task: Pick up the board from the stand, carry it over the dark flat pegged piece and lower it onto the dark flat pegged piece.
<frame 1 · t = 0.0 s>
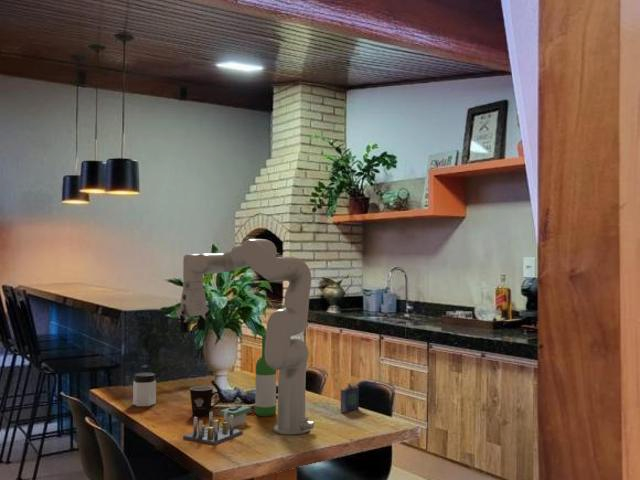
hand: (192, 331, 245), 31 cm above the table, tool pointing down, fingers open, 9 cm apart
kendama: (282, 398, 272), on the table
board: (236, 413, 229), point 4 cm above the table, touching stand
coffee mug: (204, 415, 241), on the table
dark flat pegged piece: (213, 436, 214), on the table
wine bottle: (265, 414, 243), on the table
stand: (235, 424, 229), on the table
jar: (144, 404, 258), on the table
flask: (349, 411, 249), on the table
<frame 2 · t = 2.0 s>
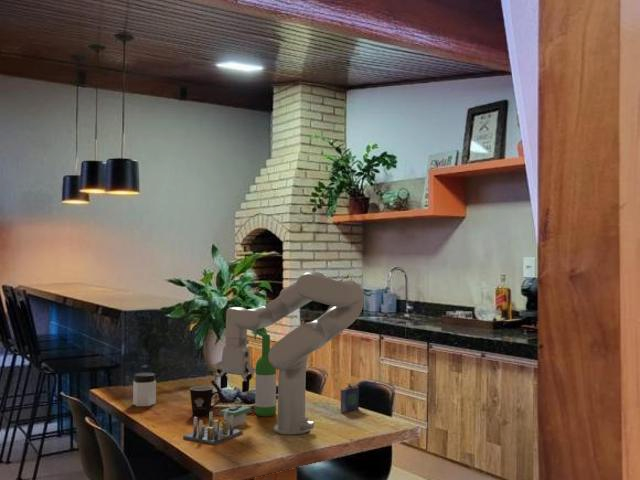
hand: (234, 389, 229), 12 cm above the table, tool pointing down, fingers open, 9 cm apart
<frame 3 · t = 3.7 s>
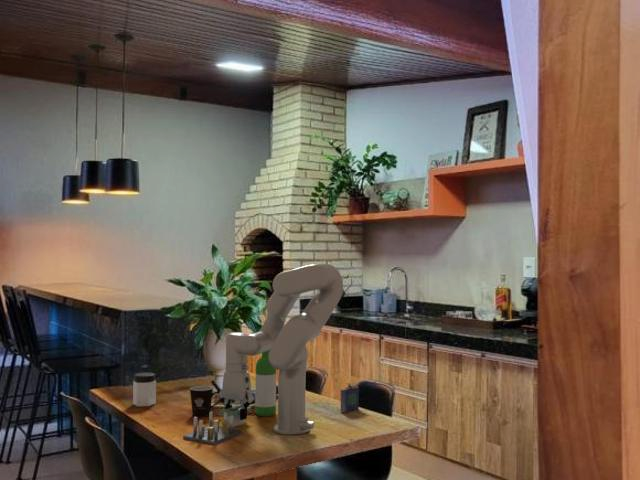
hand: (235, 417, 229), 2 cm above the table, tool pointing down, fingers closed on board, 6 cm apart
board: (236, 413, 229), point 4 cm above the table, touching gripper, stand
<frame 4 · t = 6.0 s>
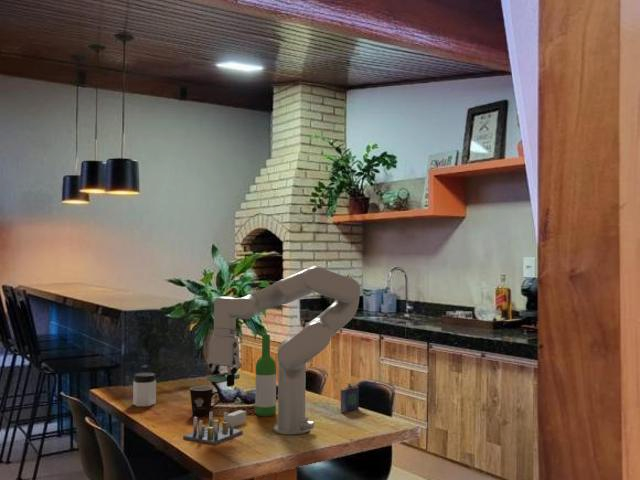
hand: (223, 384, 222), 16 cm above the table, tool pointing down, fingers closed on board, 6 cm apart
board: (223, 379, 222), point 17 cm above the table, touching gripper
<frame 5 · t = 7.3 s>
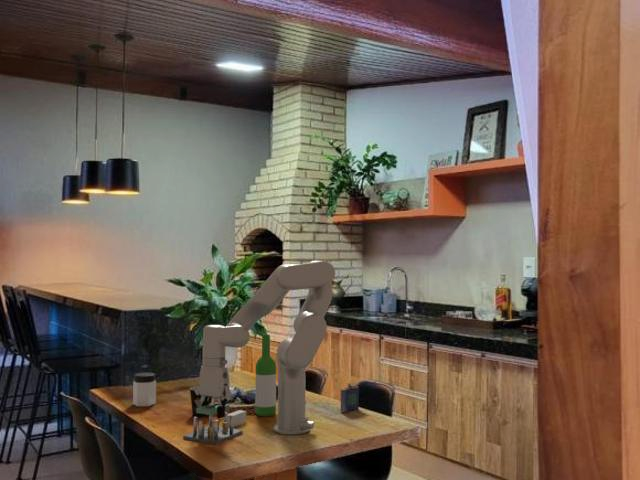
hand: (213, 415, 214), 7 cm above the table, tool pointing down, fingers closed on board, 6 cm apart
board: (213, 410, 214), point 8 cm above the table, touching gripper
when the fingers open (3 cm above the table, at t = 8.5 s): board stays where it is, resting on dark flat pegged piece.
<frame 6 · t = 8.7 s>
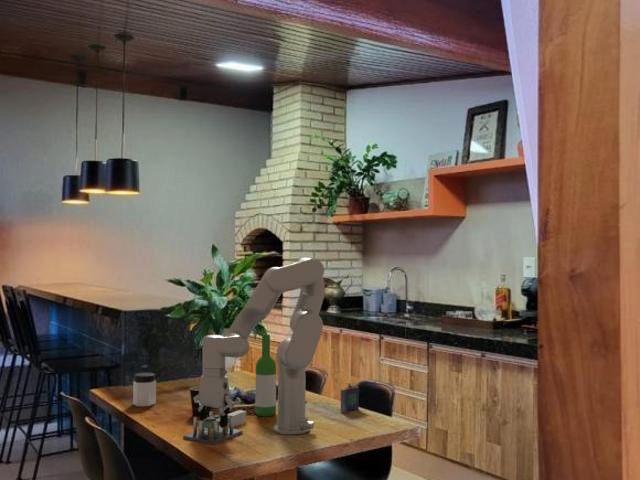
hand: (213, 424, 214), 4 cm above the table, tool pointing down, fingers open, 8 cm apart
board: (213, 424, 214), point 4 cm above the table, touching dark flat pegged piece
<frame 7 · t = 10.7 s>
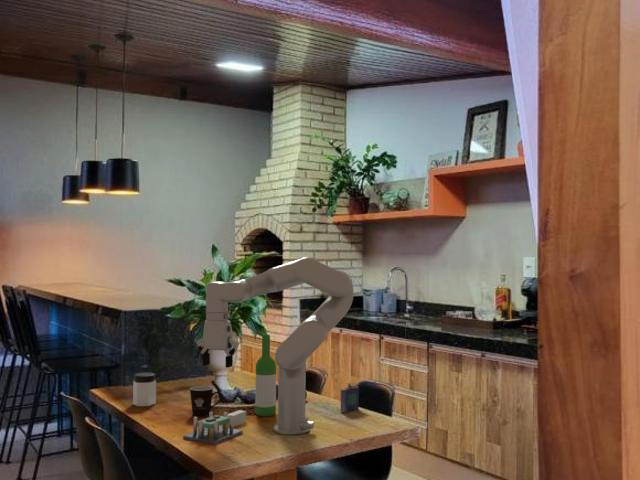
hand: (217, 366, 224), 22 cm above the table, tool pointing down, fingers open, 9 cm apart
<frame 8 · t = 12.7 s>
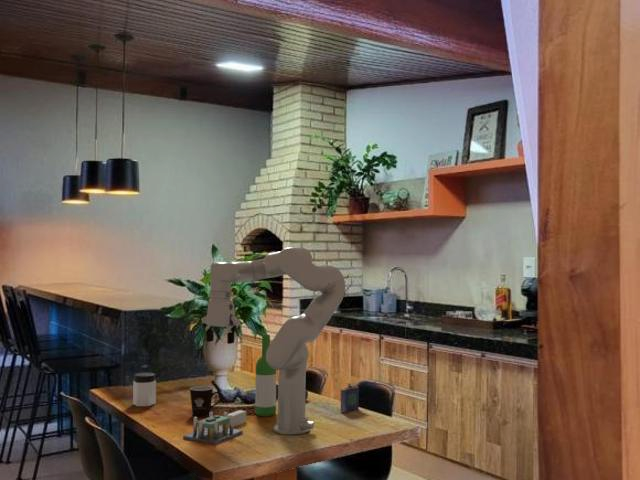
hand: (220, 342, 236), 28 cm above the table, tool pointing down, fingers open, 9 cm apart
at the end: board 0.0 cm off-centre on the dark flat pegged piece, point 4.0 cm above the dark flat pegged piece's base; board tilted 0°; the gripper is holding nothing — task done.
